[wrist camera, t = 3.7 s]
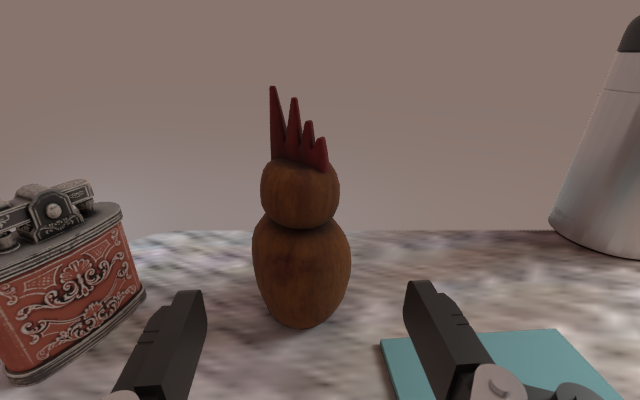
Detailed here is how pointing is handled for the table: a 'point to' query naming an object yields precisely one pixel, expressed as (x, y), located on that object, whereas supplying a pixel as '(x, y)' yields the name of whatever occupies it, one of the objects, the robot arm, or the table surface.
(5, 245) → the lighter
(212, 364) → the table surface
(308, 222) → the wooden figurine
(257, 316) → the table surface
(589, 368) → the mat
